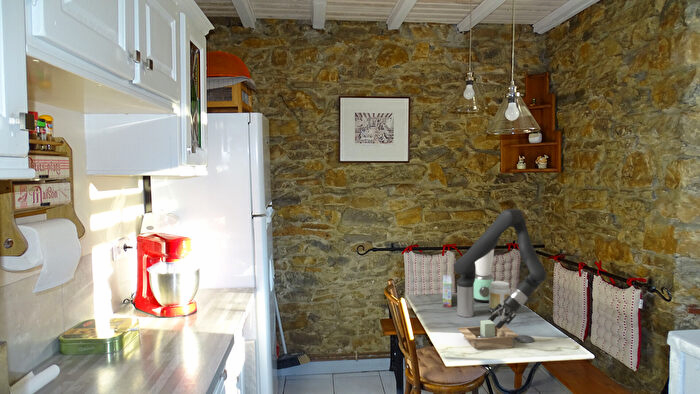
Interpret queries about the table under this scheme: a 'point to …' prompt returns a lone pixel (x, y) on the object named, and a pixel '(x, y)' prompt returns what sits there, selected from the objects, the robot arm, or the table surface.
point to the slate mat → (524, 339)
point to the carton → (501, 341)
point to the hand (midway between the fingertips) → (493, 324)
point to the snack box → (447, 291)
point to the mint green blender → (483, 277)
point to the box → (487, 329)
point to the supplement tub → (498, 293)
